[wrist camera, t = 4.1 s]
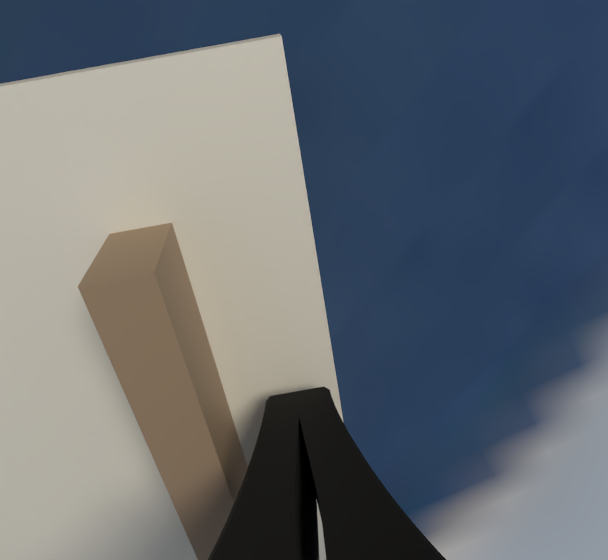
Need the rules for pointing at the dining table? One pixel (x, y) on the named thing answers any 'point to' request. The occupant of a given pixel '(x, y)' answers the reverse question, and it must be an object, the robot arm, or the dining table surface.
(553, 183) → the dining table surface
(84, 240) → the mailer lid
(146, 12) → the dining table surface
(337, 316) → the dining table surface
